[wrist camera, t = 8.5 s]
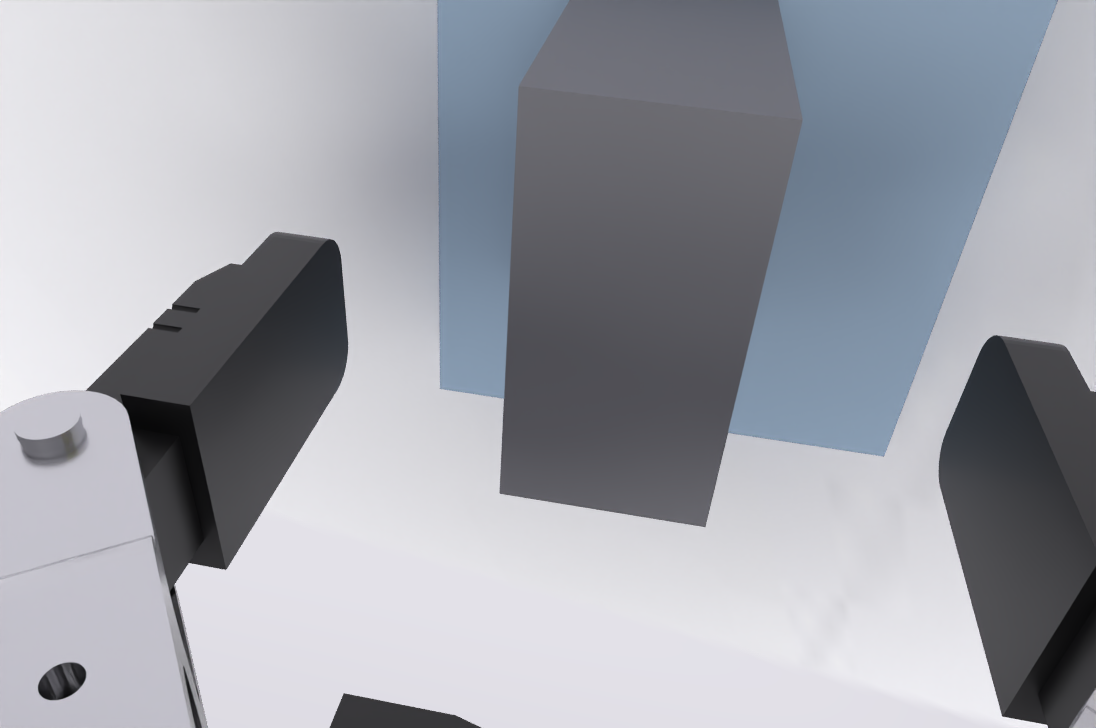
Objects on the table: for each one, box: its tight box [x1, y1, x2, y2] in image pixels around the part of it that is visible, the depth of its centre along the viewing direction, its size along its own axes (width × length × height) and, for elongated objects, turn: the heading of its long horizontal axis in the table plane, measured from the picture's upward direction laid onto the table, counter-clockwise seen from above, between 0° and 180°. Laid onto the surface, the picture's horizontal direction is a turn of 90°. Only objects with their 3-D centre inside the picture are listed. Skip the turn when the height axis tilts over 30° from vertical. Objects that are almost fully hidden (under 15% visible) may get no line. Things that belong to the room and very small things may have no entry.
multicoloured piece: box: [438, 0, 1058, 527], centre depth 14 cm, size 10×12×8 cm
